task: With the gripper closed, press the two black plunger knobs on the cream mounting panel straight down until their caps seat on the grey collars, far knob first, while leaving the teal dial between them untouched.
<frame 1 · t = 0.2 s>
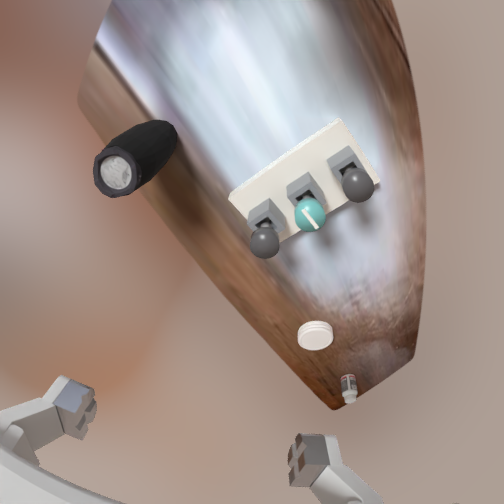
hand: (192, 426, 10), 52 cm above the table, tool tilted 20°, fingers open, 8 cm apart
teal dial: (308, 209, 49), point 11 cm above the table, slide at 0.0 cm
white jar lid: (315, 330, 84), on the table
portable speaker: (159, 137, 55), on the table
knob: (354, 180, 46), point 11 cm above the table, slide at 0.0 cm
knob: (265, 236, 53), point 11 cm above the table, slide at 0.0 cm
pill bottle: (347, 376, 98), on the table
mount panel: (303, 182, 59), on the table
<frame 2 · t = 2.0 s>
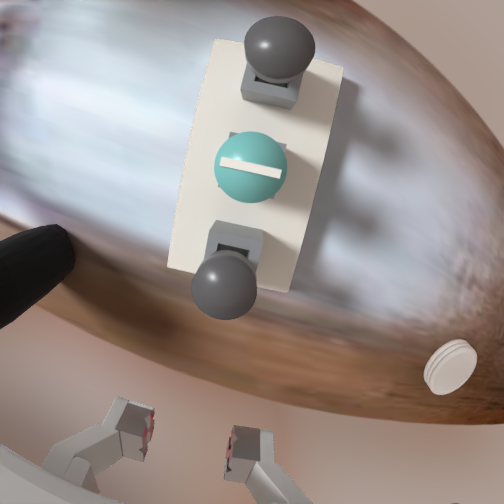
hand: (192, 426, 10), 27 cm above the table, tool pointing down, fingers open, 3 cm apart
teal dial: (251, 166, 22), point 11 cm above the table, slide at 0.0 cm
white jar lid: (446, 361, 42), on the table
portable speaker: (56, 249, 37), on the table
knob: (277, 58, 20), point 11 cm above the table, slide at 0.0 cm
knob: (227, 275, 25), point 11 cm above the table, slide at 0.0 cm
mount panel: (253, 163, 33), on the table
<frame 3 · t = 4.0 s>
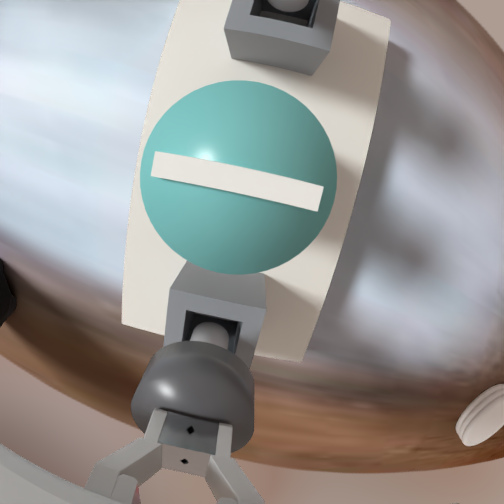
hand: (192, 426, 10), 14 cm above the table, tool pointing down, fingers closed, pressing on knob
teal dial: (242, 172, 10), point 11 cm above the table, slide at 0.0 cm
white jar lid: (481, 407, 30), on the table
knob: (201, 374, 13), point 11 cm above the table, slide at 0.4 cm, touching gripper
mount panel: (249, 164, 21), on the table
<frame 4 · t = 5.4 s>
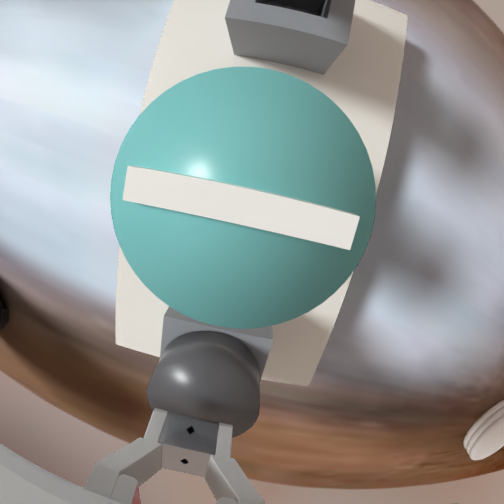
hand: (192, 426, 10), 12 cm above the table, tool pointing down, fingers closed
teal dial: (246, 188, 8), point 11 cm above the table, slide at 0.0 cm
white jar lid: (489, 421, 27), on the table
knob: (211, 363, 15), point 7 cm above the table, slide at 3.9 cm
mount panel: (253, 172, 19), on the table
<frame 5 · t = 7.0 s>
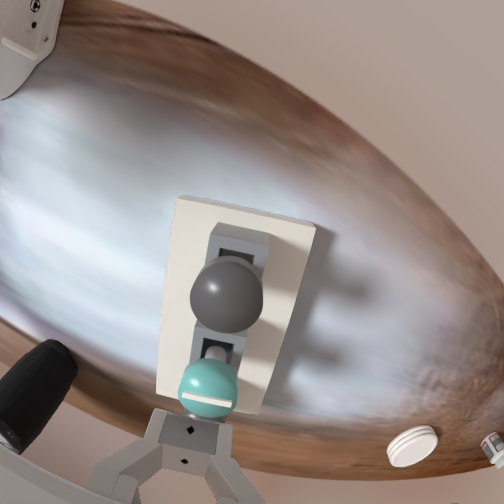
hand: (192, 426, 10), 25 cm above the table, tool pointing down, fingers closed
teal dial: (211, 375, 25), point 11 cm above the table, slide at 0.0 cm
white jar lid: (409, 439, 44), on the table
portable speaker: (59, 358, 40), on the table
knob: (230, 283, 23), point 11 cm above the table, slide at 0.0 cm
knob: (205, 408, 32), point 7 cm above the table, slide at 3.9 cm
pill bottle: (488, 437, 46), on the table
mount panel: (224, 314, 36), on the table
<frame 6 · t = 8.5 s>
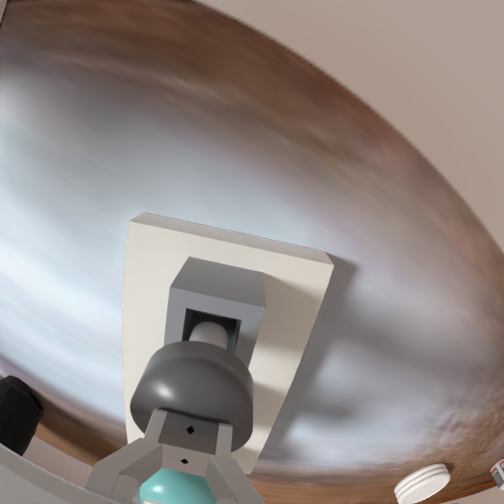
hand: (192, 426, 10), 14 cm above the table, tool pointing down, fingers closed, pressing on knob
teal dial: (185, 470, 16), point 11 cm above the table, slide at 0.0 cm
white jar lid: (419, 477, 36), on the table
portable speaker: (23, 395, 30), on the table
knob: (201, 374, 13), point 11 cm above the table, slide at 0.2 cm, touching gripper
pill bottle: (498, 463, 38), on the table
mount panel: (206, 368, 26), on the table
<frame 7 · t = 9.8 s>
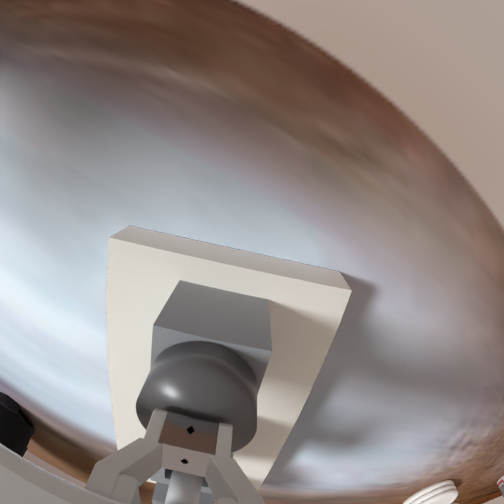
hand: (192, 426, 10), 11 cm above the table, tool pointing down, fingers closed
white jar lid: (426, 493, 32), on the table
portable speaker: (13, 411, 27), on the table
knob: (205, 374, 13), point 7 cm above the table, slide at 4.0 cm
mount panel: (203, 397, 23), on the table
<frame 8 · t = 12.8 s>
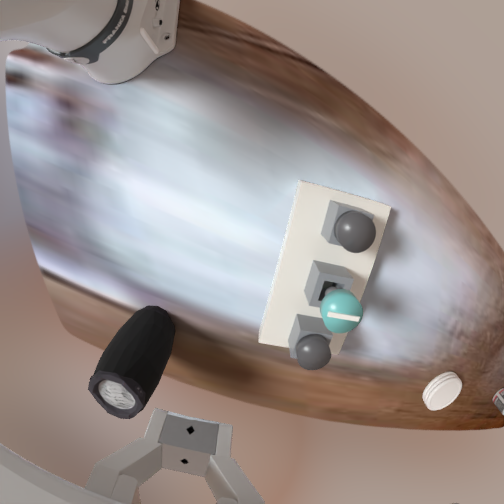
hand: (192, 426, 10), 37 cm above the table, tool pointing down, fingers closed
teal dial: (337, 304, 37), point 11 cm above the table, slide at 0.0 cm
white jar lid: (439, 386, 57), on the table
portable speaker: (155, 323, 51), on the table
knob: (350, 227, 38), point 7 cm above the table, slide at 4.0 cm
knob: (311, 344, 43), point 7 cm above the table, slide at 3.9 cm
pill bottle: (498, 393, 59), on the table
mount panel: (320, 271, 48), on the table
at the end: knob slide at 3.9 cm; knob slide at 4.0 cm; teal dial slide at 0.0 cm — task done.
